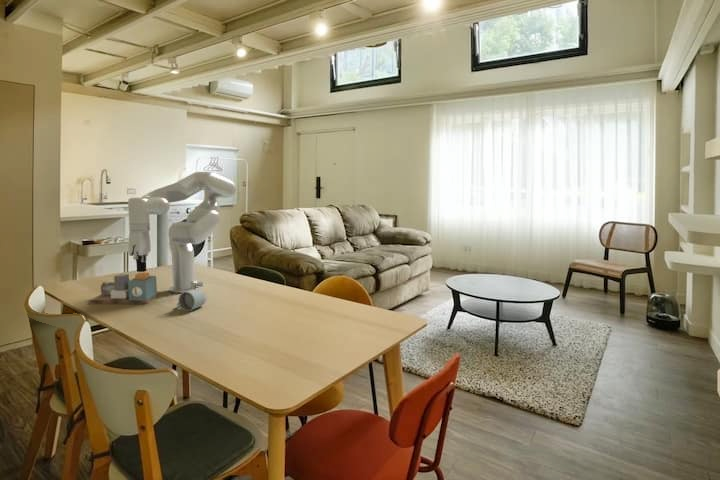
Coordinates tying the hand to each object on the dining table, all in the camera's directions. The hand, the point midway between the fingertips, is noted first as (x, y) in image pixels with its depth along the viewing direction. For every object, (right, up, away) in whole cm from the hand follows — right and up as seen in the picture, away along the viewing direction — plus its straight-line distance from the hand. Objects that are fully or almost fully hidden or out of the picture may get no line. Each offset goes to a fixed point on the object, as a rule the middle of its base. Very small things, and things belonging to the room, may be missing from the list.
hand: (141, 271), depth 178 cm
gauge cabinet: (0, -11, +1) cm, 11 cm away
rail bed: (-8, -12, +1) cm, 15 cm away
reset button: (0, -4, +1) cm, 4 cm away
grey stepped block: (-9, -11, +1) cm, 14 cm away
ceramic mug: (+23, -14, -8) cm, 29 cm away
